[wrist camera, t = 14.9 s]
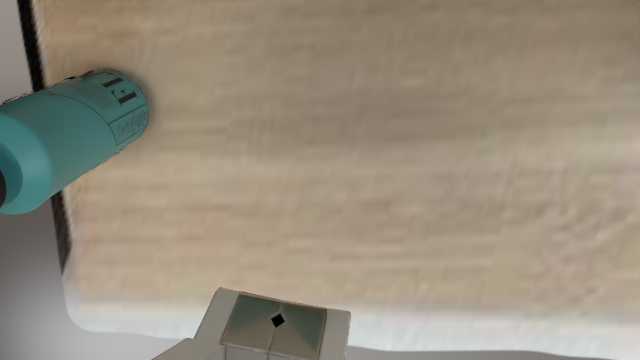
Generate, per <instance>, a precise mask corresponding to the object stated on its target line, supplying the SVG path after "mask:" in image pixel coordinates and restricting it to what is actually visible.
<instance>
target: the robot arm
mask: <svg viewBox="0 0 640 360" xmlns="http://www.w3.org/2000/svg"><path fill="white" fill-rule="evenodd" d="M327 310H328V312H327ZM326 317H327V318H326ZM350 320H351V313H350V312H349V311H343V310H337V309H331V308H329V309H328V308H324V307H318V306H313V305H307V304H302V303H296V302H291V301H284V300H280V299H275V298H270V297H265V296H261V295H256V294H251V293H247V292H239V291H235V290H230V289H226V288H221V287H220V288H219V289H218V290H217V291H216V292H215V294H214V296H213V298H212V300H211V303H210V305H209V307H208V309H207V311H206V313H205V315H204V318H203V320H202V322H201V324H200V326H199V328H198V330H197V333H196V335H195V337H194V339H190V338H186V339H184V340H183V341H181V342H180V343H178V344H176V345H175V346H173V347H171V348H170V349H168V350H166V351H165V352H163V353H162V354H160V355H158V356H157V357H155V358H153V359H152V360H345V358H346V350H347V343H348V335H349V328H350Z"/></svg>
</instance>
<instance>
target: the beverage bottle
mask: <svg viewBox="0 0 640 360" xmlns="http://www.w3.org/2000/svg"><path fill="white" fill-rule="evenodd" d="M98 69H99V70H95V71H91V70H90V71H89V72H88V71H87V73H85V74H84V75H83V74H82V76H80V75H79V76H80V77H77V76H76V78H75V77H74V76H73V77H70V78H67V79H71V80H68V81H66V82H63V83H60V84H58V83H56V84H57V85H56V84H55V85H54V86H52V87H49V88H46V87H47V86H46V87H45V88H44V89H43V90H40V91H38V92H35V93H32V94H28V95H27V96H24V97H21V96H20V97H21V98H18V99H15V100H13V101H10V100H11V99H10V100H9V101H10V102H7V103H5V102H6V101H7V100H6V101H5V102H4V103H3V104H2V105H0V213H2V214H10V215H12V214H23V213H27V212H30V211H32V210H34V209H36V208H37V207H39V206H40V205H41V204H42V203H44V202H45V200H47V199H48V198H50V197H51V196H53V195H54V194H55V193H57V192H58V191H60V190H61V189H63V188H64V187H66V186H67V185H68V184H70V183H71V182H73V181H74V180H76V179H77V178H79V177H80V176H82V175H83V174H85V173H86V172H87V171H89V170H90V169H92V168H94V167H95V166H98V165H100V163H103V161H105V160H106V159H108V158H110V157H111V156H112V155H114V154H116V152H117V154H118V153H119V152H118V151H119V150H121V151H122V148H124V147H125V146H127V145H128V144H130V143H131V142H133V141H134V140H136V139H137V138H138V137H139V136H140V135H141V133H142V132H143V130H144V128H145V126H147V125H146V123H147V122H148V104H147V100H146V97H145V95H144V93H143V91H142V90H141V88H140V87H139V86H138V84H137V83H136V82H135V81H134V80H132V79H131V78H130V77H128V76H127V75H125V74H123V73H121V72H117V71H112V69H111V70H106V68H104V70H100V68H98ZM64 80H65V79H64ZM53 84H54V83H53ZM51 85H52V84H51ZM48 86H50V85H48ZM33 91H34V90H33ZM12 99H13V98H12ZM112 157H113V156H112ZM105 162H106V161H105ZM95 168H96V167H95ZM94 170H95V169H94ZM87 173H88V172H87Z"/></svg>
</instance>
